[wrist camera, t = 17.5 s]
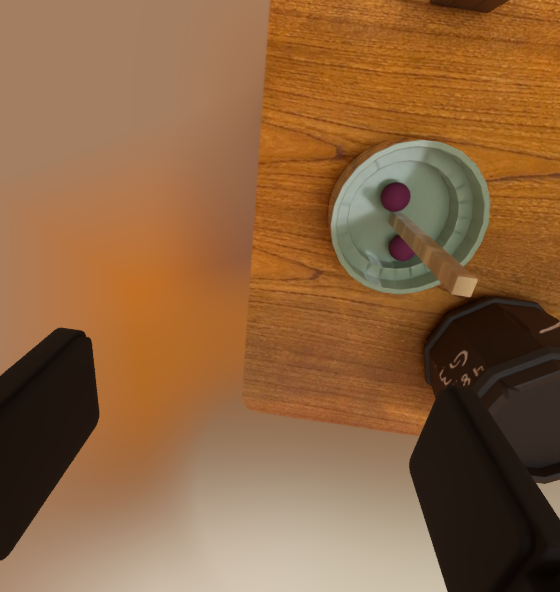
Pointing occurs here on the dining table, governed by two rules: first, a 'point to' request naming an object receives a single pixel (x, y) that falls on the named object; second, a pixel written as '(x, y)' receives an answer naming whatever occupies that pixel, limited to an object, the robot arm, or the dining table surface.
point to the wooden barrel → (505, 372)
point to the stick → (434, 256)
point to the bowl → (406, 211)
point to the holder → (471, 4)
